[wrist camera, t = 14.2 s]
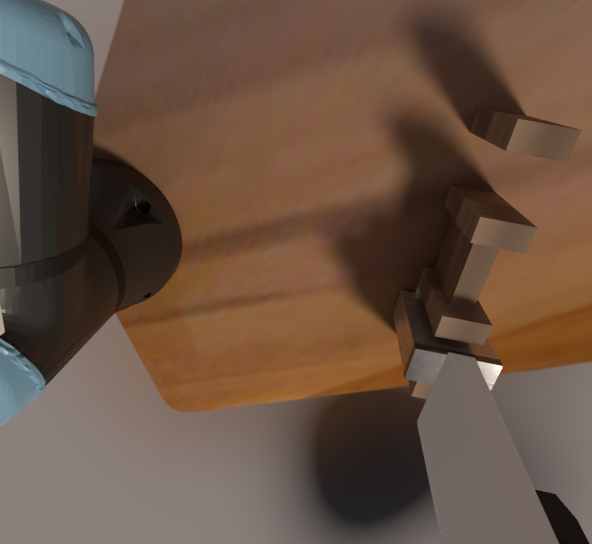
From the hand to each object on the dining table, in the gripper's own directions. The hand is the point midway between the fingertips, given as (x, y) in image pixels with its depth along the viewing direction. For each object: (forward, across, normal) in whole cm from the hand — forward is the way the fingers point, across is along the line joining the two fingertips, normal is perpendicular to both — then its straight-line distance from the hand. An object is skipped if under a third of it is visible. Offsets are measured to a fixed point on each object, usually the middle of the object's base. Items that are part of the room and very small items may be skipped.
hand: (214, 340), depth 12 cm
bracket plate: (+28, +16, -12) cm, 35 cm away
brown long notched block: (+28, +16, -5) cm, 33 cm away
